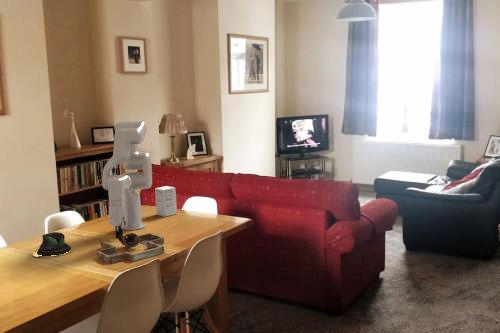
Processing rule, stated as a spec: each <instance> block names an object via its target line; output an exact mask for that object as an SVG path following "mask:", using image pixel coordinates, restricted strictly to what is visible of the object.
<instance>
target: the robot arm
mask: <svg viewBox="0 0 500 333" xmlns="http://www.w3.org/2000/svg"><path fill="white" fill-rule="evenodd" d="M147 127H148V126H147V124H146V122H144V121H142V120H141V121H140V120H139V121H135V120H134V121H132V120H131V121H129V120H128V121H119V122H116V123H115V124H114V131H115V133H114V140H113V152H112V154H113V155H112V156H111V158H109V160H108V161H107V162H106V163H105V164H104V166H103V167H104V168H103V169H102V176H101V177H102V178H101V179H102V180H101V185H102V188H103V189H104V190H106V191H108V192H107V193H108V204H109V207H108V221H109V224H110V225H112V226H114V232H115V239H116V240H118V237H119V236H120V235H124V232H123V231H124V230H125V231H136V230H141V229H143V228H145V223H143V222H142V220H143V219H142V205H141V204H142V202H141V196H140V193H139V192H138V191H137V190H147V189H151V187H152V185H153V171H152V170H153V168H152V166H153V165H152V157H151V154H150V153H148V152H139V150H138V145H140V144H142V143H143V141H145V137H146V135H147V130H148V128H147ZM120 164H122V168H123V169H124V170H128V171H130V170H131V171H130V172H124V173H122V174H111V171H112V170H113V168H116V166H118V165H120ZM136 170H139V171H136ZM132 171H133V172H132Z"/></svg>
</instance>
